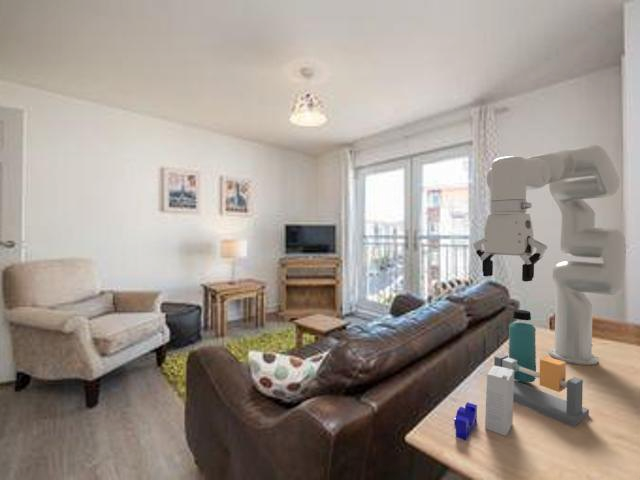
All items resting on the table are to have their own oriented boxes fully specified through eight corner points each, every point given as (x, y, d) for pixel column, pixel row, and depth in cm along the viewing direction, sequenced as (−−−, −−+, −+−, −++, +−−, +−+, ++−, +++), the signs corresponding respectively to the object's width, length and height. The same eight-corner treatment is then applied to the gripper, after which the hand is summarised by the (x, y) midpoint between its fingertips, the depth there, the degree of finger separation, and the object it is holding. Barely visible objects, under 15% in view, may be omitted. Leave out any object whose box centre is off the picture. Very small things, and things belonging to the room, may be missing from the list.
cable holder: (460, 417, 74) (460, 400, 74) (476, 423, 72) (476, 405, 72) (448, 434, 68) (448, 415, 68) (466, 441, 66) (466, 422, 65)
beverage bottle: (540, 389, 86) (541, 314, 85) (512, 387, 87) (513, 313, 87) (529, 378, 92) (530, 308, 92) (504, 376, 94) (505, 307, 93)
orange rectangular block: (546, 381, 79) (546, 356, 79) (565, 388, 75) (565, 362, 75) (539, 385, 77) (539, 359, 77) (558, 392, 74) (559, 365, 74)
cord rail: (504, 382, 90) (504, 351, 90) (588, 415, 74) (589, 378, 74) (487, 390, 86) (487, 357, 85) (573, 427, 70) (574, 387, 69)
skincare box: (491, 416, 74) (491, 363, 73) (514, 424, 71) (514, 369, 70) (484, 429, 69) (484, 373, 69) (508, 438, 66) (509, 379, 66)
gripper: (555, 207, 74) (553, 281, 75) (483, 211, 89) (482, 273, 90) (538, 206, 70) (536, 284, 71) (466, 210, 85) (465, 275, 86)
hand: (506, 278), depth 80 cm, fingers open, 9 cm apart
